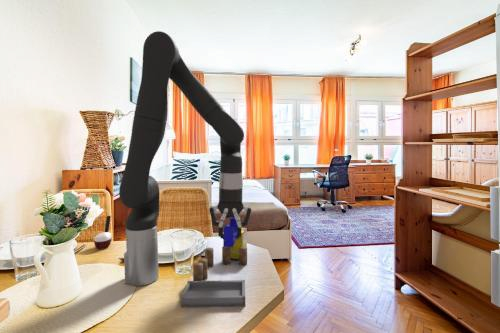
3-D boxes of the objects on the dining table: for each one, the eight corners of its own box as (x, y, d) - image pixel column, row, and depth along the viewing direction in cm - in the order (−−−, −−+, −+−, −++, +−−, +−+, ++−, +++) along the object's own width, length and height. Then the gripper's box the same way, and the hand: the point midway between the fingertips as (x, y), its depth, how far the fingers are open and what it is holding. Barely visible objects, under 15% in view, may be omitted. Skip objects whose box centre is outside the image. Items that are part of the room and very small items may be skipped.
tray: (181, 307, 73) (181, 298, 72) (188, 289, 81) (187, 281, 81) (245, 306, 73) (245, 297, 73) (244, 288, 82) (244, 280, 82)
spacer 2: (197, 280, 87) (197, 262, 86) (198, 275, 90) (198, 258, 89) (207, 280, 87) (206, 262, 86) (208, 275, 90) (207, 258, 89)
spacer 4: (221, 265, 97) (221, 249, 97) (222, 261, 100) (222, 245, 100) (230, 265, 97) (230, 248, 97) (230, 261, 100) (230, 245, 100)
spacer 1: (192, 285, 84) (192, 266, 83) (194, 280, 86) (194, 262, 86) (202, 285, 84) (202, 266, 83) (203, 280, 87) (203, 262, 86)
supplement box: (232, 253, 108) (232, 226, 107) (247, 255, 106) (247, 227, 105) (227, 259, 102) (227, 231, 101) (242, 261, 100) (242, 232, 99)
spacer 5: (238, 265, 97) (238, 249, 96) (238, 262, 100) (238, 246, 99) (247, 265, 97) (247, 249, 96) (247, 262, 100) (247, 246, 99)
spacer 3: (204, 267, 96) (204, 250, 95) (205, 263, 98) (205, 247, 98) (213, 267, 96) (212, 250, 95) (213, 263, 99) (213, 247, 98)
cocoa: (98, 253, 108) (96, 224, 107) (88, 250, 111) (86, 221, 109) (119, 244, 117) (117, 217, 115) (109, 241, 120) (108, 215, 118)
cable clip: (226, 233, 96) (226, 216, 95) (238, 234, 95) (239, 217, 95) (218, 246, 84) (219, 227, 83) (232, 247, 83) (233, 228, 83)
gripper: (207, 188, 84) (206, 241, 85) (253, 188, 84) (252, 242, 86) (209, 184, 91) (209, 233, 93) (252, 184, 92) (251, 234, 93)
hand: (229, 237), depth 89 cm, fingers closed on cable clip, 4 cm apart
